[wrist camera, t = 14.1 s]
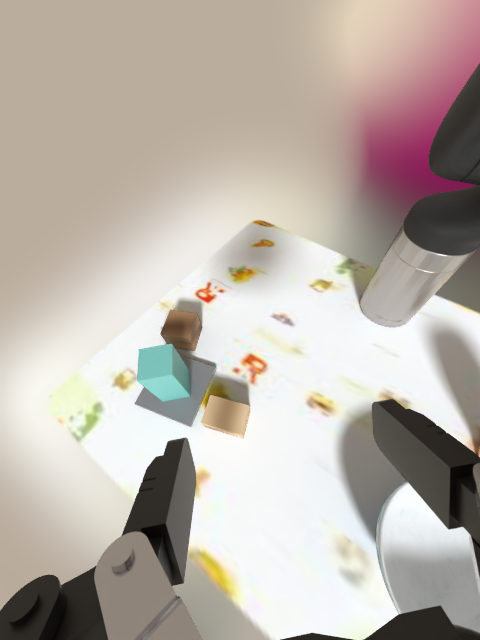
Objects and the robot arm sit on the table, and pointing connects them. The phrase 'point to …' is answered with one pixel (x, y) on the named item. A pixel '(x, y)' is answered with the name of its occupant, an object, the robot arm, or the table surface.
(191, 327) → the walnut cube
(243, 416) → the oak block
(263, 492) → the table surface
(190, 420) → the coaster
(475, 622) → the chinaware
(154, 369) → the teal block
